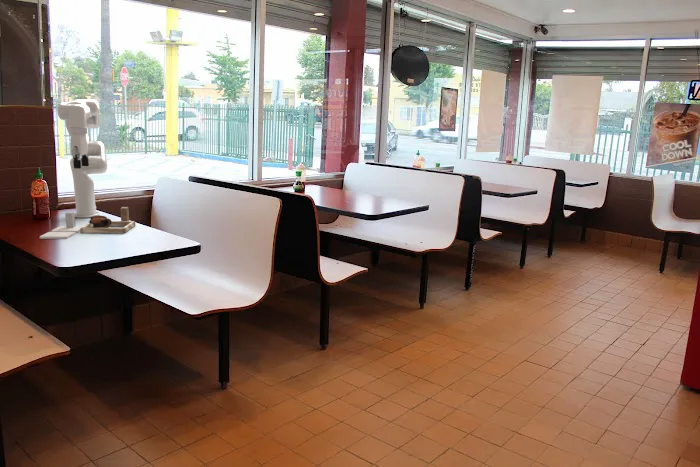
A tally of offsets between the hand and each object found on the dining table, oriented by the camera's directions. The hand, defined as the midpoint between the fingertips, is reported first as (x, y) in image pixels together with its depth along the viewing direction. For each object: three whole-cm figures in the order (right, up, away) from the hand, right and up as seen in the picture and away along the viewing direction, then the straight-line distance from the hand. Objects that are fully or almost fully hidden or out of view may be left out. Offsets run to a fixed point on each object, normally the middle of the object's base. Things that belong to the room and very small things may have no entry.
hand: (81, 167), depth 287 cm
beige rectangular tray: (+14, -29, 0) cm, 32 cm away
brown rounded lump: (+12, -31, -6) cm, 34 cm away
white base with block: (-2, -32, -13) cm, 35 cm away
